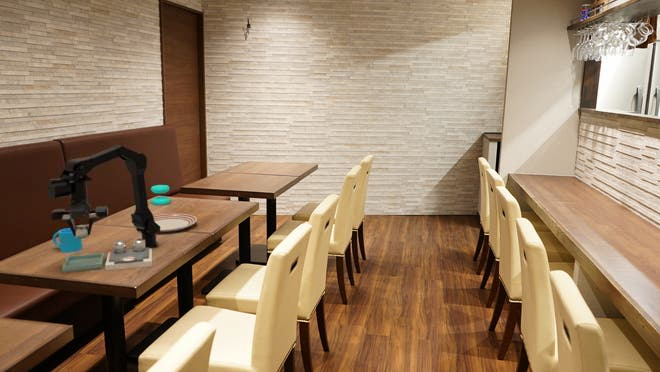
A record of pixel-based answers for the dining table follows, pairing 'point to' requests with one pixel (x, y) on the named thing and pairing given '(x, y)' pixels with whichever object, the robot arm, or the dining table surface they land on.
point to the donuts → (162, 199)
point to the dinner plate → (174, 221)
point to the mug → (67, 241)
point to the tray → (83, 262)
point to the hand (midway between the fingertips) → (82, 235)
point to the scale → (129, 259)
